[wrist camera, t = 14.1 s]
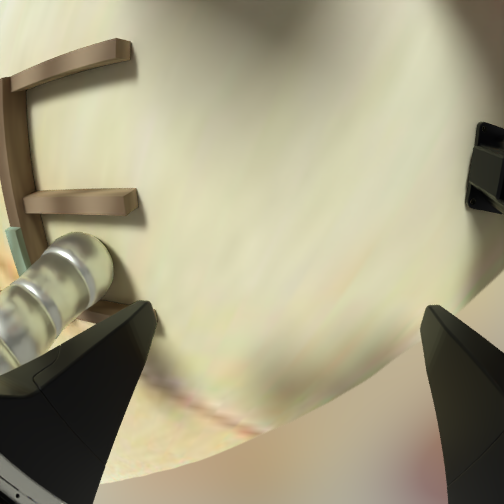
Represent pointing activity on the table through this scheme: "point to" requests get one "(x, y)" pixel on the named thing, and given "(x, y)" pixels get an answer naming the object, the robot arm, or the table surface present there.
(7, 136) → the comb rack
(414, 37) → the table surface
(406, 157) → the table surface
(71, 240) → the plastic bottle
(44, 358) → the robot arm
